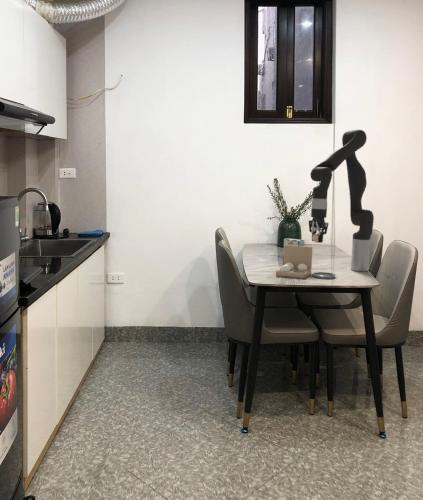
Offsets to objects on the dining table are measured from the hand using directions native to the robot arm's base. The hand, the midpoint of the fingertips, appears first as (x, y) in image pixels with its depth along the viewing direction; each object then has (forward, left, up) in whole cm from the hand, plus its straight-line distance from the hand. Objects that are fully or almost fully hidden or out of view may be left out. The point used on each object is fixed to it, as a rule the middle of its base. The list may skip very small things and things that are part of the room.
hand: (317, 241), depth 240 cm
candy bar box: (-17, -16, -18) cm, 29 cm away
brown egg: (0, 0, +2) cm, 2 cm away
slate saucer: (-2, +4, -18) cm, 19 cm away
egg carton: (0, -11, -18) cm, 21 cm away
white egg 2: (-4, -15, -15) cm, 21 cm away
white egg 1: (+3, -15, -15) cm, 21 cm away
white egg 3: (-4, -8, -15) cm, 17 cm away
